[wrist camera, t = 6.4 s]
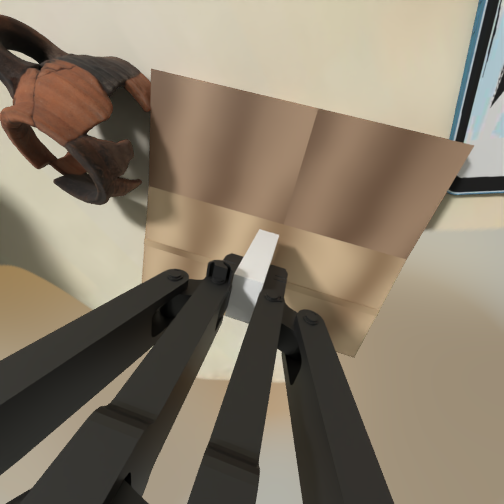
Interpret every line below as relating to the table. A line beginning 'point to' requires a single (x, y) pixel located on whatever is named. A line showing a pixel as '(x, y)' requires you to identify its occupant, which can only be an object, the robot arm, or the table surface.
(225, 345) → the table surface
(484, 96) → the smartphone
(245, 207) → the floor boards
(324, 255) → the plank
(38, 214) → the table surface
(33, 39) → the pottery mug
